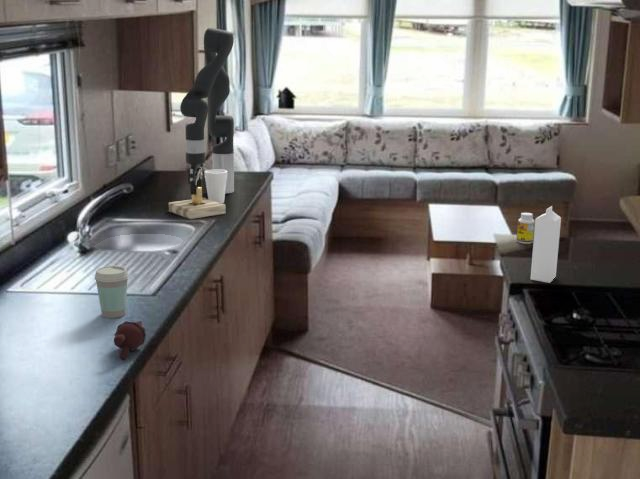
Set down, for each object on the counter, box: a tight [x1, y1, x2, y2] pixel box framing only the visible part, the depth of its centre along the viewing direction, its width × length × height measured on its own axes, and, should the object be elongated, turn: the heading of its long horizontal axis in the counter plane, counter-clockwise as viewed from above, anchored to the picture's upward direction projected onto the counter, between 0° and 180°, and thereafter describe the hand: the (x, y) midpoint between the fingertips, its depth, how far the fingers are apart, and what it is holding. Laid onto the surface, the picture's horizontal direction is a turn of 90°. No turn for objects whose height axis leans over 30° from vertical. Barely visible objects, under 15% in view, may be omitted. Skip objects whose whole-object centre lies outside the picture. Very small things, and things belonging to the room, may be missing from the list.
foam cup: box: [203, 168, 227, 204], centre depth 346 cm, size 10×9×13 cm
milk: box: [529, 205, 562, 284], centre depth 250 cm, size 6×6×22 cm
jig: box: [168, 197, 227, 220], centre depth 329 cm, size 16×16×4 cm
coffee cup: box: [94, 265, 130, 319], centre depth 216 cm, size 8×8×12 cm
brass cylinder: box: [191, 186, 203, 206], centre depth 328 cm, size 4×4×10 cm
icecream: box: [113, 320, 147, 361], centre depth 195 cm, size 7×7×15 cm
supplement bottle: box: [516, 212, 535, 245], centre depth 293 cm, size 6×6×10 cm
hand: (196, 192), depth 328 cm, fingers open, 8 cm apart
